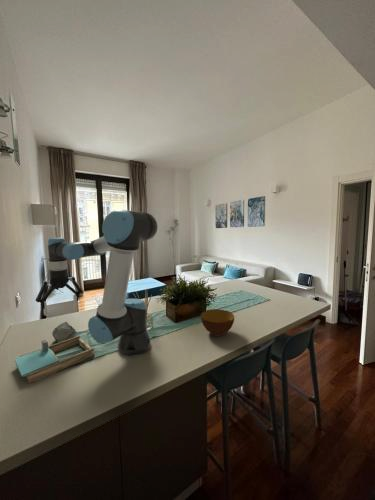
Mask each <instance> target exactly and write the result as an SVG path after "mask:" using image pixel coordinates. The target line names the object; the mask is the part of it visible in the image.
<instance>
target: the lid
mask: <svg viewBox="0 0 375 500" xmlns="http://www.w3.org/2000/svg"><path fill="white" fill-rule="evenodd" d="M48 346H49V342H48V340H47V339H43V340H41V348H40V349H41V350H39V349H38V350H39V351H36V350H35V351H36V352H33V351H32V352H33V353H30V352H29V353H30V354H28V353H26V354H27V355H25V354H23V355H24V356H22V355H20V356H21V357H16V358H14V362H15V365H16V367H17V369H18V372H19V373H20V377H21V378H24V377H26V376H27V375H28V374H29V373H32V372H34V371H37V370H39V369H42V368H44V367H47V366H49V365H51V364H54V363H56V362H59V361H58V359H59V358H58V357H57V358H58V359H57V358H56V357H55V355H56V354H55V353H54V354H55V355H54V354H53V353H52V352H51V350H50V349H49V348H48Z"/></svg>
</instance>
